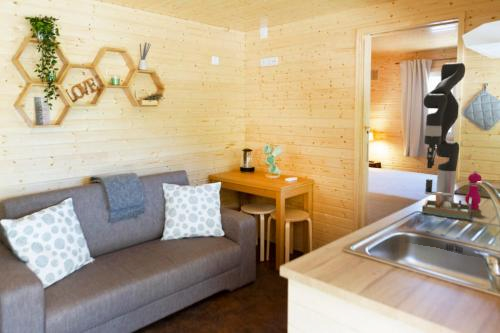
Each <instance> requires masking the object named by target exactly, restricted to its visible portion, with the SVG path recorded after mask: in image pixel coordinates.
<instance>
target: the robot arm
mask: <svg viewBox="0 0 500 333" xmlns="http://www.w3.org/2000/svg"><path fill="white" fill-rule="evenodd" d="M440 70H441V71H440V72H441V73H440V81H439V82H438V84H437V85H436V86H435V88H433V89H432V90H431V91H429V92H428V93H427V94H426V95H424V97H423V105H424V107H425V108H426V109H437V110H436V111H435V112H431V113H427V115H426V121H425V122H426V123H425V127H424V128H425V129H424V142H423V144H424V145H428V147H427V149H426V161H427V164H426V168H427V169H432V168H433V167H434V166H435V159H436V156H437V157H439V158H445V159H446V158H447V159H448V160H447V161H446V162H444V163H439V164H438V166H437V175H436V176H437V179H436V189H435V190H436V191H435V192H441V193H451V194H453V195H452V197H449V196H442V198H441V201H442V202H451V203H453V202H454V200H455V192H456V191H455V188H456V177H457V167H458V160H459V155H460V154H459V152H460V144H459V142H458V141H452V140H451V141H450V140H447V136H448V133H449V130H450V129H451V128H452V127H453V125H455V123H456V121H457V120H458V117H459V107H460V106H459V102H458V100H457V99H456V97H455V96H454V94H453V93H452V90H453V88H454V87H455V86H456V85H458V84H459V83H460V82H461V81H462V80H463V79H464V76H465V74H466V65H465V64H464V63H463V62H446V63H443V64H442V66H441V69H440Z"/></svg>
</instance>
